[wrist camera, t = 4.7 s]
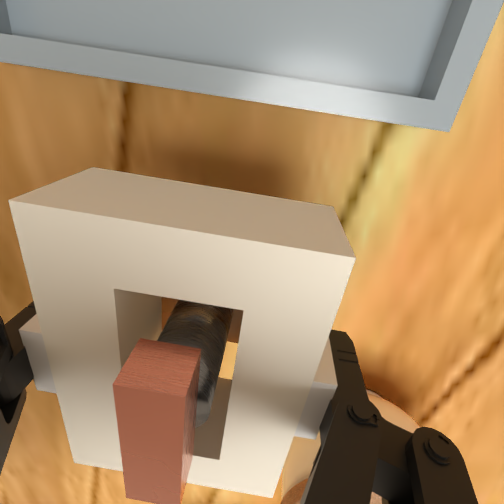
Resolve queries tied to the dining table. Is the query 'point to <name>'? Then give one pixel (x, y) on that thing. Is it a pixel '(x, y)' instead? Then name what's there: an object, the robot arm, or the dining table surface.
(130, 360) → the t-stake
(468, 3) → the tray
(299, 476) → the lidded jar
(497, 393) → the dining table surface
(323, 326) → the slotted frame
